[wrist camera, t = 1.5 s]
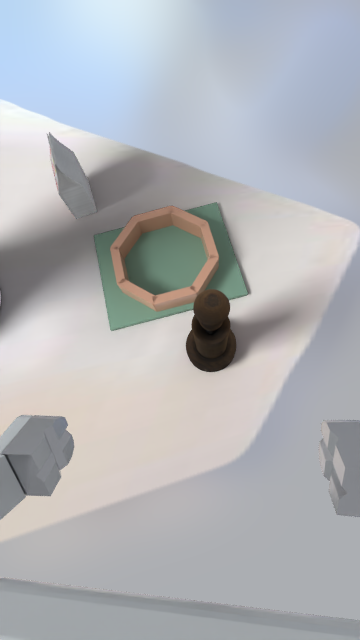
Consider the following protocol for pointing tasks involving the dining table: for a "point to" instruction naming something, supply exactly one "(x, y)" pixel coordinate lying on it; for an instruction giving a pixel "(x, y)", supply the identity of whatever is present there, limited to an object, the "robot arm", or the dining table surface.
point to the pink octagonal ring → (154, 222)
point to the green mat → (166, 267)
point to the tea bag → (71, 180)
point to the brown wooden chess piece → (211, 332)
